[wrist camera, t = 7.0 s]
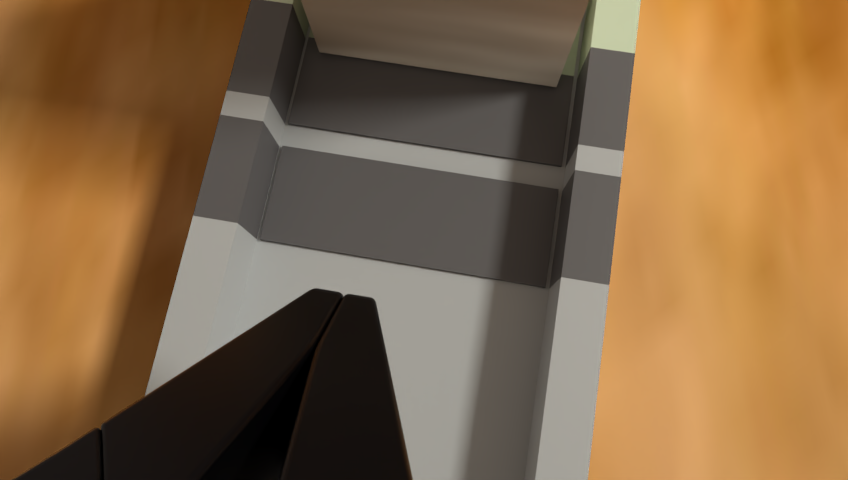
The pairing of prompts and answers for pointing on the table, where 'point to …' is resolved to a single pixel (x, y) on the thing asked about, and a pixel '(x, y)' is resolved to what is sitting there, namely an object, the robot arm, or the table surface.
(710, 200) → the table surface
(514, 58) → the cream block
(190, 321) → the channel
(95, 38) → the table surface
